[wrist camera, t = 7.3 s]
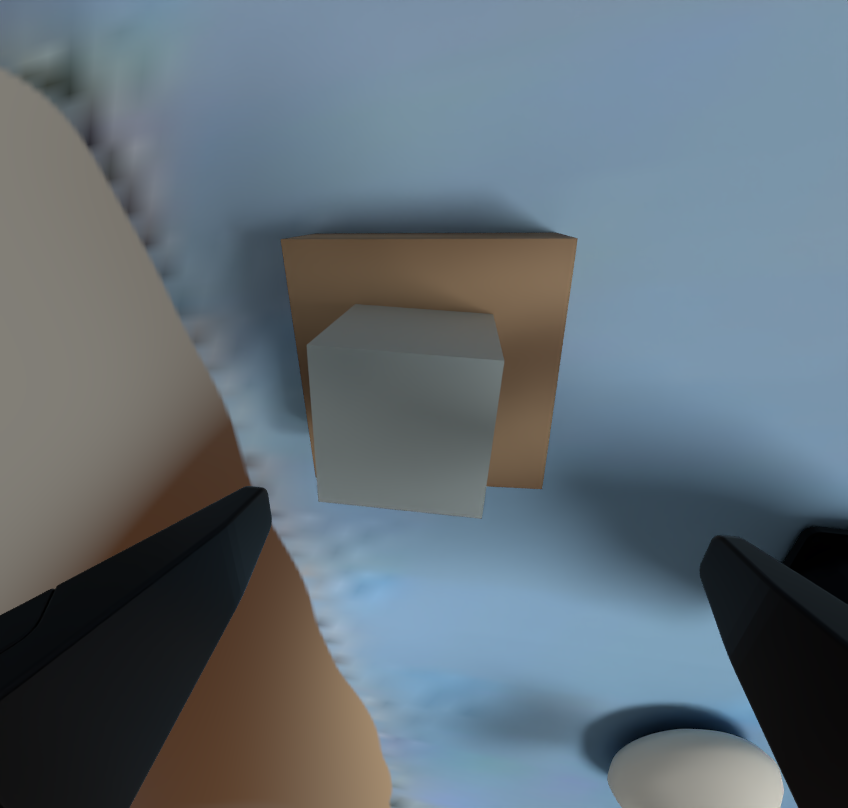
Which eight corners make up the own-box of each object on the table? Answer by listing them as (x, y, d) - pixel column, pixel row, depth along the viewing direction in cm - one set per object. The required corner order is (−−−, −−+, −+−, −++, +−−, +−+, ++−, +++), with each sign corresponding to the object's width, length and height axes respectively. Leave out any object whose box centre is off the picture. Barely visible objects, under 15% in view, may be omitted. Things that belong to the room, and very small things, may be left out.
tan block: (529, 441, 21) (542, 488, 18) (340, 433, 22) (315, 477, 18) (554, 232, 17) (577, 238, 13) (318, 233, 18) (280, 239, 14)
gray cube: (478, 435, 17) (481, 518, 12) (357, 424, 17) (318, 501, 13) (493, 314, 15) (504, 360, 10) (355, 304, 15) (306, 345, 10)
